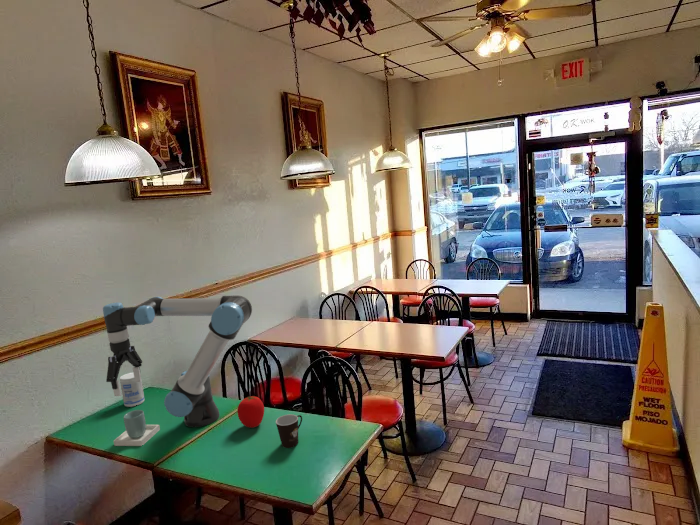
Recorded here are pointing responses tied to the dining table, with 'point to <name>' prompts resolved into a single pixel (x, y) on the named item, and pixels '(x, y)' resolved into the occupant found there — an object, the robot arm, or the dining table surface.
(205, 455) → the dining table surface
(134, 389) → the supplement tub
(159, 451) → the dining table surface
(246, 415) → the tomato
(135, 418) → the cup
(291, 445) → the coffee mug
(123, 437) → the dish
